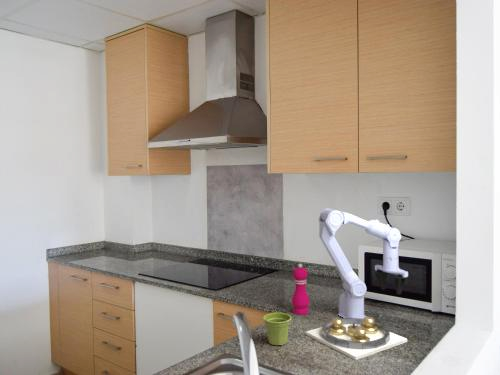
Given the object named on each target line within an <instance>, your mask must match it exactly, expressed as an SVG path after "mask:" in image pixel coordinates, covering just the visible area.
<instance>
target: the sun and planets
mask: <svg viewBox="0 0 500 375" xmlns="http://www.w3.org/2000/svg"><path fill="white" fill-rule="evenodd" d="M341 318H342V317H333V318H331V320H332V325H331V326H329V333H330V334H332V335H338V336H339V335H344V334H346V327H344V326H342V319H341ZM348 336H349V337H351V341H359V342H364V341H370V338H369V337H368V336H366V329H365V328H362V327H360V326H357V323H353V325H351V326H348Z"/></svg>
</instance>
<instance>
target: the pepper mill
mask: <svg viewBox="0 0 500 375" xmlns="http://www.w3.org/2000/svg"><path fill="white" fill-rule="evenodd" d="M308 275H309V273H308V270H307V268H305V267H303V264H302V263H299V264H298V265H297V267H296V268H294V269H293V271H292V277H293V278H294V280H293V281H294V284H295V288H294V289H295V290H294V293H293V296H292V297H291V298H292V299H291V304H292V305H293V307H292V311H293V314H296V315H301V316H302V315H308V314H309V312H308V311H309V310H310V309H309V307H308V306H310V304H311V302H310V298H309V294H308V292H307V289H306V285H307V283H308V282H307V277H308Z"/></svg>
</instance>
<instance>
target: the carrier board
mask: <svg viewBox="0 0 500 375" xmlns="http://www.w3.org/2000/svg"><path fill="white" fill-rule="evenodd" d="M351 325H353V324H345V325H342V326H344V327H346V334H344V335H339V336H338V335H332V334H330V333H329V329H328V330H326V331H327V332H328V333H329V334H330V335H332V336H334V337H336V338H340V339H344V340H348V341H351V337H349V336H348V326H351ZM357 326H360V325H357ZM389 333H390V341H389V342H388V343H387V344H386V345H384V346H381V347H378V348H373V349H350V348H345V347H341V346H337V345H334V344H332V343H330V342H328V341H326V340H325V339H324V337H323V336H322V326H321V327H317V328H315V329H310V330H307V331H305V335H306V336H308V337H310V338H312V339H314V340H316V341H318V342H319V343H321V344H323V345H325V346H327V347H329V348H331V349H332V350H336V352H337V351H338V352H339V353H341V354H343V355H345V356H347V357H349V358H351V359H353V360H355V361H357V360H360V359H364V358H366V357H368V356H369V357H370V356H372V355H375V354H377V353H380V352H382V351H385V350H388V349H391V348H394V347H396V346H399V345H402V344H405V343H408V338H406V337H404V336H401V335H399V334H396V333H394V332H392V331H389ZM366 336H368V337H369V338H370V341H374V340H377V339H380V338H382V337H383V336H384V334H383V333H382V332H381V331H379V330H378V332H377V333H376V334H366Z"/></svg>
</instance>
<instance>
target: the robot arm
mask: <svg viewBox="0 0 500 375" xmlns="http://www.w3.org/2000/svg"><path fill="white" fill-rule="evenodd" d="M318 223H319V226H318V227H319V230H318V231H319V232H318V234H319V235H318V237H319V238H320V240H321V242H322V244H323V246H324V248H325V249H326V251H327V252H328V253H327V254H328V255H329V257H330V259H331V260H332V262H333V264H334V265H335V268H336V269H337V271H338V272H339V274H340V279H341V281H342V282H341V283H342V288H343V289H344V290H345V291H344V292H342V293H341V294H340V296H339V298H338V314H337V316H338V315H339V316H338V317H340V316H341V317H340V318H342V317H343V318H361V319H363V318H364V317H367V316H368V315H365V294H366V293H367V286H366V283H365V282H363V281H362V280H361V279H360V277H359V275H357V274H356V272H355V271H354V269H353V268H352V266H351V264H350V262H349V260H348V259H347V257H346V255H345V253H344V251H343V249H342V248H341V246H340V244H339V243H338V241H337V238H335V235H336V233H337V230H339V229H340V228H341V226H342V225H347V224H351V225H354V226H357V227H359V228H362V229H364V230H365V232H366V233H367V234H368V235H370V236H373V237H376V238H379V239H381V240H382V249H383V250H382V254H383V256H382V261H383V262H382V264H383V265H381V264H376V265H374V270H375V271H374V275H375V277H376V278H377V280H378V284H379V287H380V290H382V291H383V290H386V289H387V279H388V274H392V275H395V276H393V280H394V282H395V293H396V295H402V292H403V289H404V286H405V283H406V282H407V280H408V278H409V271H406V270H404V269H402V268H400V266H399V245H400V244H399V243H400V241H401V240H402V234H401V231H400V230H399V229H398V228H396V227H392V226H390V224H388V223H386V224H385V223H382V222H381V221H380V220H379V219H376V218H375V219H370V220H366V219H363V218H361V217H359V216H356V215H354V214H351V213H350V212H346V211H341V210H335V209H332V208H324V209H323V210H322V211H321V212H320V215H319V217H318Z"/></svg>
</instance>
